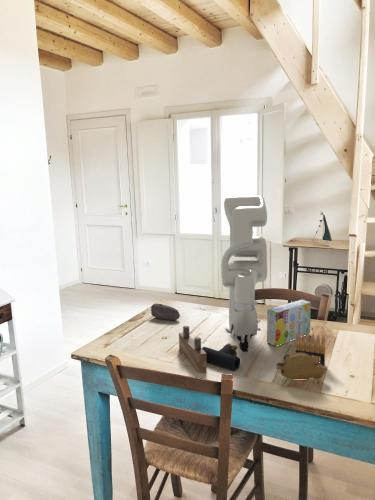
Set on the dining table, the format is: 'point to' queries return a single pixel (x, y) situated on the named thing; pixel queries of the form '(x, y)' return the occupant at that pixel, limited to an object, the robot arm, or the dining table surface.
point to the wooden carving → (300, 366)
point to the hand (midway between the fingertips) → (243, 350)
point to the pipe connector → (223, 357)
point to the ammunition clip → (311, 347)
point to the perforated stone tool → (164, 312)
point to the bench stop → (192, 350)
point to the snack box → (288, 321)
